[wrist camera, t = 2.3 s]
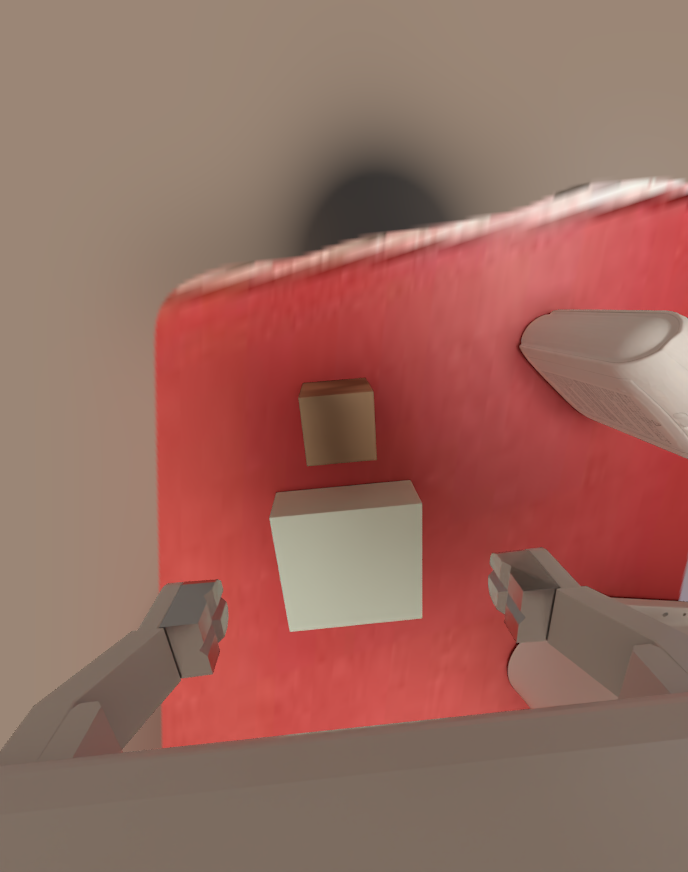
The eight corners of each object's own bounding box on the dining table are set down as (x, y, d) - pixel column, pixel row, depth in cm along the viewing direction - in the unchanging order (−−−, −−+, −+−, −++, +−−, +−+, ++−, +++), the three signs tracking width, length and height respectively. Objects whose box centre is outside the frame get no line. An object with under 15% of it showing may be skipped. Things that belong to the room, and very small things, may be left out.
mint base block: (410, 479, 31) (422, 503, 27) (411, 585, 35) (422, 618, 31) (276, 492, 31) (269, 517, 27) (293, 597, 35) (289, 631, 31)
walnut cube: (365, 377, 28) (373, 391, 23) (368, 435, 29) (376, 459, 25) (303, 382, 28) (298, 397, 23) (309, 441, 29) (306, 466, 25)
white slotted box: (625, 385, 29) (826, 435, 17) (584, 423, 30) (748, 495, 18) (549, 300, 26) (726, 292, 15) (506, 345, 27) (641, 371, 16)
